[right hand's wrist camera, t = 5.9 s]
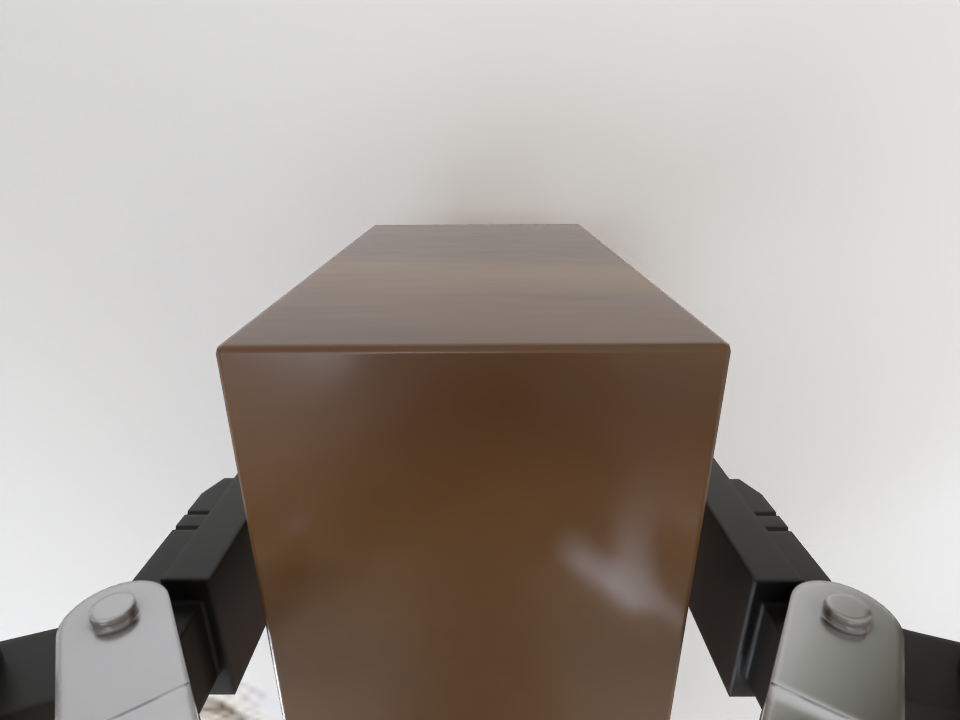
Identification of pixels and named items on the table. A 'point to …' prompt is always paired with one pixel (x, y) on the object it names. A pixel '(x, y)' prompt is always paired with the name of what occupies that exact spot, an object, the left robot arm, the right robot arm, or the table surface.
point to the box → (474, 477)
